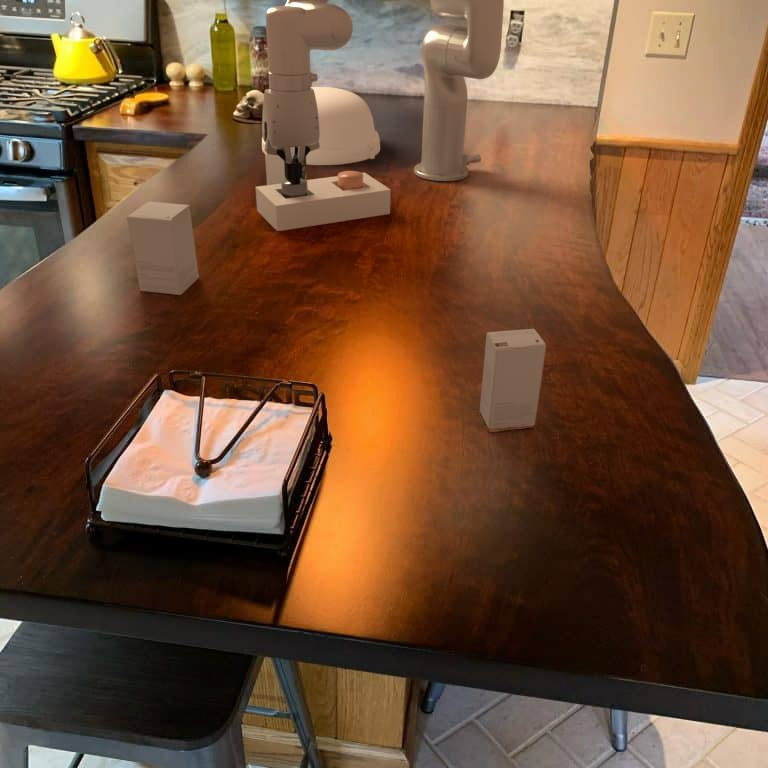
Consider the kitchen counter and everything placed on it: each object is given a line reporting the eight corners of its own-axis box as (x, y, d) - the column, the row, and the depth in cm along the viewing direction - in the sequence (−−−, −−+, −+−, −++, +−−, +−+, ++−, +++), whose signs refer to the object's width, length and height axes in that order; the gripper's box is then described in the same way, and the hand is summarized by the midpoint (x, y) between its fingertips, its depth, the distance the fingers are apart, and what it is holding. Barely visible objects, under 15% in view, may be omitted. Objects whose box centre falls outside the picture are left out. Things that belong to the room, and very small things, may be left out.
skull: (225, 119, 212) (229, 85, 214) (236, 138, 222) (240, 105, 224) (267, 120, 211) (271, 86, 213) (276, 139, 221) (280, 106, 223)
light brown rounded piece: (356, 188, 159) (356, 169, 156) (367, 196, 155) (367, 176, 153) (334, 192, 157) (334, 172, 154) (344, 199, 153) (344, 179, 151)
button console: (364, 195, 164) (364, 172, 161) (389, 213, 155) (390, 189, 152) (257, 211, 155) (255, 186, 152) (277, 231, 146) (276, 205, 143)
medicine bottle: (297, 188, 167) (295, 132, 161) (266, 185, 168) (263, 130, 162) (307, 178, 173) (305, 124, 167) (276, 176, 174) (273, 122, 168)
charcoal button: (302, 196, 154) (301, 176, 152) (311, 204, 150) (311, 184, 148) (278, 199, 152) (277, 179, 150) (287, 207, 148) (286, 187, 146)
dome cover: (405, 145, 199) (407, 88, 191) (339, 174, 177) (338, 111, 169) (306, 126, 213) (304, 72, 205) (233, 151, 191) (229, 92, 184)
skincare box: (523, 410, 97) (535, 325, 90) (535, 431, 93) (549, 344, 86) (476, 414, 96) (485, 329, 89) (486, 435, 92) (496, 348, 85)
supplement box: (200, 277, 128) (191, 204, 121) (180, 296, 122) (170, 220, 115) (159, 272, 129) (148, 199, 122) (138, 291, 123) (125, 215, 116)
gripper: (320, 75, 145) (321, 172, 155) (243, 81, 139) (250, 180, 149) (335, 83, 139) (336, 183, 149) (257, 89, 133) (263, 192, 143)
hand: (293, 181), depth 149 cm, fingers closed
